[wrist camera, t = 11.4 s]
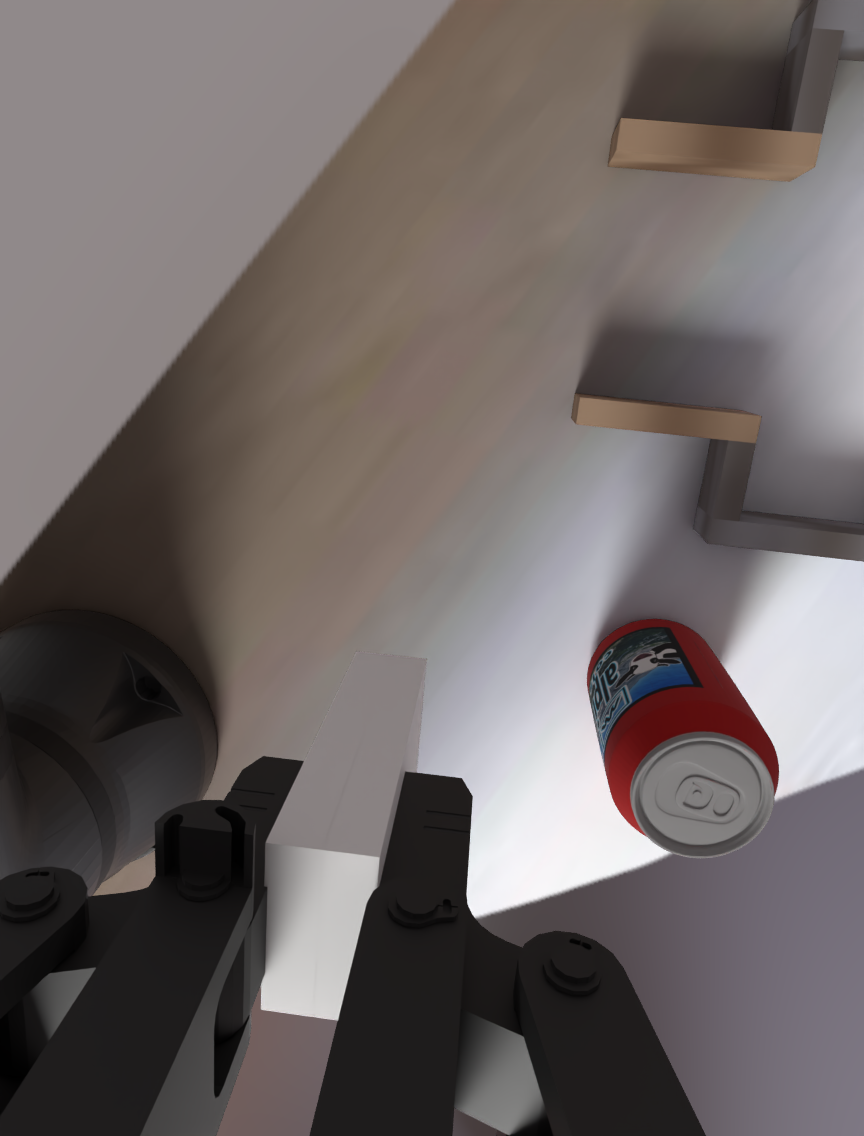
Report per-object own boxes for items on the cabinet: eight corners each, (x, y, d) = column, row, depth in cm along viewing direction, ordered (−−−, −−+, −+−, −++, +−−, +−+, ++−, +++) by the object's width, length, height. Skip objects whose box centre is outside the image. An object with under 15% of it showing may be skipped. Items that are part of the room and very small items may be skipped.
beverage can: (613, 594, 40) (654, 695, 29) (736, 637, 40) (826, 755, 29) (565, 705, 42) (586, 840, 31) (682, 746, 42) (747, 896, 31)
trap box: (557, 513, 39) (561, 527, 36) (630, 11, 33) (641, -20, 30) (1020, 566, 38) (1062, 584, 35) (1188, 50, 32) (1256, 21, 29)
